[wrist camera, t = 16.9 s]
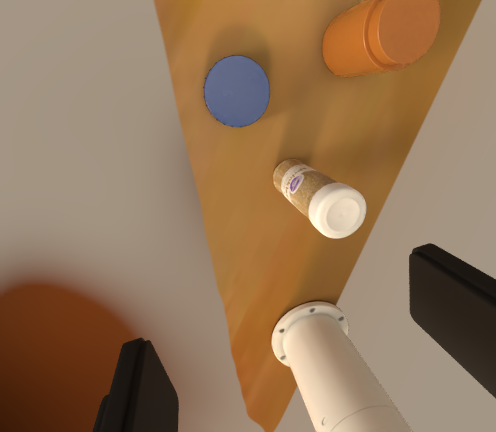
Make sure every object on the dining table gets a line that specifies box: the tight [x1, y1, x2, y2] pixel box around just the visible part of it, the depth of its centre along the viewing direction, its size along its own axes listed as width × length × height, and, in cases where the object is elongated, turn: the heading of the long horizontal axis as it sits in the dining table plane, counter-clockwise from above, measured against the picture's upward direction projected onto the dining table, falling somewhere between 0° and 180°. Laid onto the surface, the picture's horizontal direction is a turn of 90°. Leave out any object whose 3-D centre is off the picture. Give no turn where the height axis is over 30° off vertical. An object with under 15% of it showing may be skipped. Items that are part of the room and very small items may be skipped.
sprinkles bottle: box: [273, 159, 366, 238], centre depth 30 cm, size 5×5×14 cm
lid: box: [203, 55, 270, 127], centre depth 30 cm, size 7×7×2 cm
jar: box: [322, 0, 440, 78], centre depth 27 cm, size 6×6×9 cm
